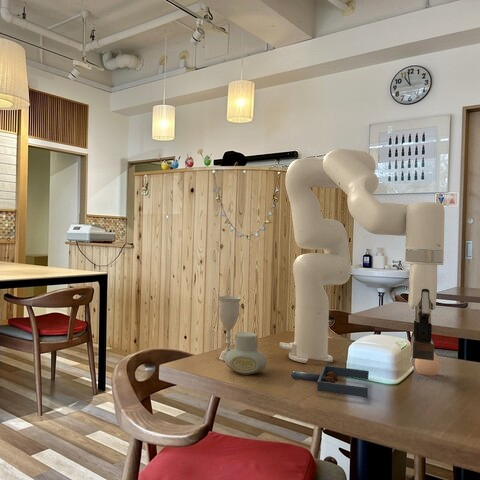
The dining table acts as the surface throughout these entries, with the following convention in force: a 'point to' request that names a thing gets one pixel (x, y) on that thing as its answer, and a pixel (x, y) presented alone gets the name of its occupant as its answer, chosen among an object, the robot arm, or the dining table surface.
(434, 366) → the egg
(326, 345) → the robot arm
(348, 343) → the dining table surface
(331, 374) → the crumb
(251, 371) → the air freshener
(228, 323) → the chalice
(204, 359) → the dining table surface
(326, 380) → the crumb
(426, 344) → the wooden stamp
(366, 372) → the dustpan
